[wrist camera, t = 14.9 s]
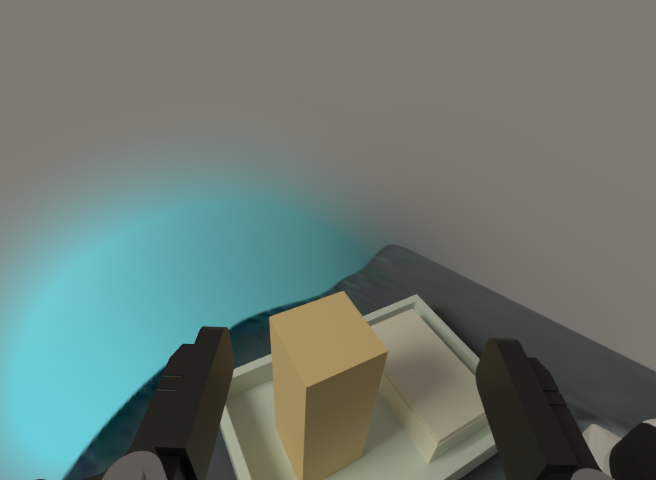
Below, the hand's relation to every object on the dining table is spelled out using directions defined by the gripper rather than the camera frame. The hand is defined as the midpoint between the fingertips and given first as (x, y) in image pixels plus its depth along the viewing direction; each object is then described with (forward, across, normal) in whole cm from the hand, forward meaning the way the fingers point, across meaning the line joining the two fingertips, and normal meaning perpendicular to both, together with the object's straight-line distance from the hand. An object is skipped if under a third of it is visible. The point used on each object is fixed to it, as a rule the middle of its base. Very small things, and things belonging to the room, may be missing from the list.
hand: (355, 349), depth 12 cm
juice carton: (+9, +1, +24) cm, 25 cm away
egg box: (+14, -8, +24) cm, 29 cm away
